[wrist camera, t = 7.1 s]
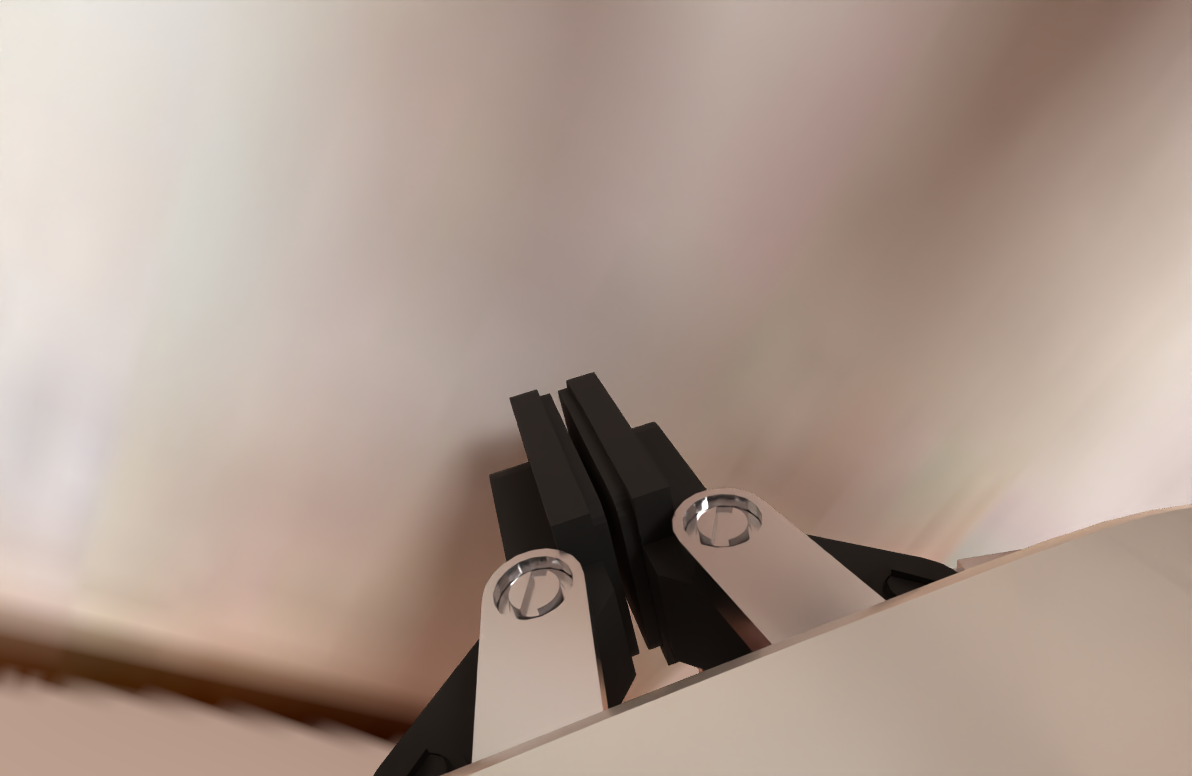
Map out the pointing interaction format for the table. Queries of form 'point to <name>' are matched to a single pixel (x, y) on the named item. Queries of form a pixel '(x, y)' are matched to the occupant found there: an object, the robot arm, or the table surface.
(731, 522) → the robot arm
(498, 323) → the table surface
